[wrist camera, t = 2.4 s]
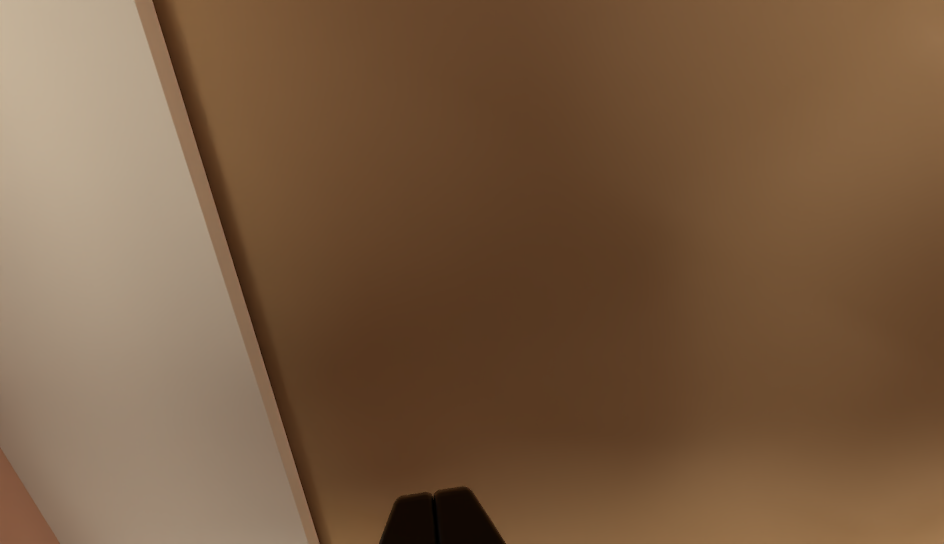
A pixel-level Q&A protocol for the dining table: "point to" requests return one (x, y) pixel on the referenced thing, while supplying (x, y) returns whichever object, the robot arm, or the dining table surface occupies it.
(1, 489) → the t block
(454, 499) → the robot arm
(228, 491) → the mat
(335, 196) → the dining table surface
